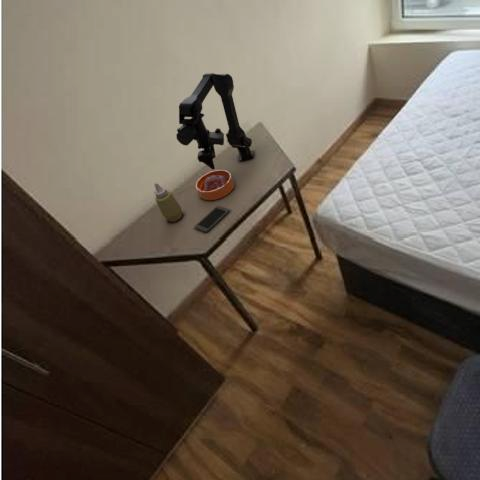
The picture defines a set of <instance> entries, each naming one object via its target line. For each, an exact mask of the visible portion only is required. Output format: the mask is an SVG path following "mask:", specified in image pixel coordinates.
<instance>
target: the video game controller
mask: <svg viewBox="0 0 480 480" xmlns="http://www.w3.org/2000/svg"><path fill="white" fill-rule="evenodd" d="M214 182H218V183H217V187H219V188H221V187H222V186H224V185H225V184H226V178H225V177H224V176H220V175H213V176H210V177H208V178H206V180H205V191H209V186H211V188H215V187H216V184H215V183H214Z"/></svg>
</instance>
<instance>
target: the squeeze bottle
mask: <svg viewBox="0 0 480 480" xmlns="http://www.w3.org/2000/svg"><path fill="white" fill-rule="evenodd" d="M154 188H155V191H154V196H155V199H154V200H155V202H156V204H157V206H158V208H159V211H160V213H161V215H162V216H163V217H164V218H165V219H166V220H167V221H168V222H172V223H173V222H178V220H180V219H182V216H183V213H182V207H181V205H180V204H179V202H178V201H177V199H176V198H175V197H174V195H173V194H172V192H171V191H168V190H167V188H166V187H161V185H160V184H159V183H158V182H155V183H154Z"/></svg>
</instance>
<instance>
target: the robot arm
mask: <svg viewBox="0 0 480 480" xmlns="http://www.w3.org/2000/svg"><path fill="white" fill-rule="evenodd" d="M201 77H202V78H201V80H200V81H199V82H198V84H197V85H196V87H195V88H194V90H193V91H192V93H191V95H189V96H188V97H186V98H184V99H183V100H182V101H181V102H180V103H179V105H178V123H179V124H178V125H181V126H180V127H178V128H177V129H176V131H177V133H176V140H177V142H179V144H181V145H182V146H189V145H190V144H191V143H192V142H193V141H196V143H197V149H198V150H199V151H198V153H197V157H196V158H197V160H198V162H199V163H203V164H204V165H205V166H207V167H208V168H210V169H211V170H216V167H215V163H214V159H216V158H217V157H216V150H215V146H216V145H217V146H218V145H219V146H224V145H225V137H226V141H227V143H228V145H230V146H231V148H232V149H235V148H236V149H237V152H238V155H239V161H240V162H243V161H247V160H251V159H253V158H254V152H253V150H251V148H250V147H252V144H253V140H252V138H250V137H248V136H247V135H246V132H245V130H244V129H243V128H242V127H241V125H240V122H239V118H238V114H237V109H236V105H235V102H234V97H233V92H234V88H235V86H234V79H233V76H232V75H230V74H229V73H219V74H218V73H213V72H209V73H208V72H207V73H206V72H205V73H204V74H202V76H201ZM212 88H214V90H215V92H216V93H217V95H219V96H220V99H221V104H222V108H223V111H224V116H225V119H226V123H227V126H228V130H227V133H226V134H225V133H224V132H223V131H222V129H221V128H216V129H215V130H214V131H210V129H208V128H207V127H206V125H205V123H204V120H203V118H204V117H205V113H202V111H203V102H204V101H205V99H206V98H207V96H208V95H209V93H210V91H211V90H212ZM200 149H201V150H200Z"/></svg>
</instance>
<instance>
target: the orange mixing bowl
mask: <svg viewBox="0 0 480 480" xmlns="http://www.w3.org/2000/svg"><path fill="white" fill-rule="evenodd" d="M213 175H220V176H224V177H225V178H226V184H225V185H224V186H222V187H221V188H219V187H217V183H218V182H214V183H215V184H216V187H215V188H211V186H209V191H205V180H206V178H208V177H210V176H213ZM234 187H235V181H234V179H233V176H232V174H231V173H230V172H229V171H228V170H225V169H217V170H216V169H214V170H212V171H209V172H207V173H205V174H203V175H202V176H201V177H200V178H198V179H197V181H196V182H195V188H196V191H197V193H198V195H199V196H200V198H201V199H203V200H204V201H205V200H206V201H215V200H219V199H222V198H224V197H226V196H227V195H229V194H230V193H231V192H232V191H233V189H234Z"/></svg>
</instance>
